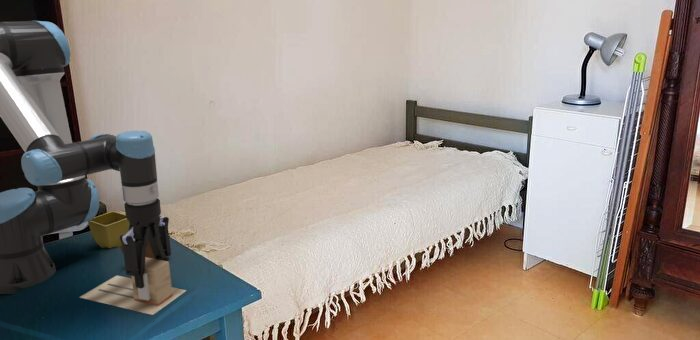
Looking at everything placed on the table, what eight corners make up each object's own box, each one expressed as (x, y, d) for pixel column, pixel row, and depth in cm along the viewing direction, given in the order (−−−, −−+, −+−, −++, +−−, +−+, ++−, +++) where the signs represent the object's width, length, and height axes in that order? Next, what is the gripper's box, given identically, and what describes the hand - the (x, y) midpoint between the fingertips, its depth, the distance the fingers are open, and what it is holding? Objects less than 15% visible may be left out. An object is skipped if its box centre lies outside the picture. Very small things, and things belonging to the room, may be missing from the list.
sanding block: (134, 300, 128) (129, 265, 126) (149, 290, 133) (145, 257, 130) (158, 306, 126) (154, 270, 123) (172, 295, 130) (168, 261, 128)
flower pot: (135, 244, 163) (132, 216, 160) (109, 255, 155) (105, 225, 153) (117, 238, 167) (113, 210, 165) (90, 248, 160) (86, 219, 157)
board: (79, 301, 130) (79, 297, 130) (117, 279, 141) (116, 275, 141) (153, 319, 123) (152, 314, 122) (187, 294, 133) (186, 290, 133)
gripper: (125, 215, 113) (138, 314, 120) (181, 190, 129) (190, 278, 136) (97, 211, 116) (111, 308, 122) (155, 186, 132) (165, 273, 138)
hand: (153, 292), depth 129 cm, fingers closed on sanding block, 5 cm apart
